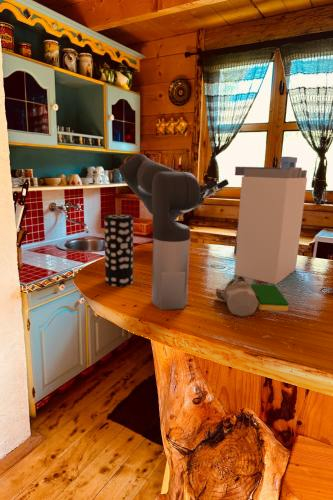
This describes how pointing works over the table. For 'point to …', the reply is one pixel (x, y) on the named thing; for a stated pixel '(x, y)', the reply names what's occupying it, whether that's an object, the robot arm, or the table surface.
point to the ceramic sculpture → (239, 297)
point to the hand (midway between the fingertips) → (222, 181)
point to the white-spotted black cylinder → (118, 249)
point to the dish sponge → (269, 298)
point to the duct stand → (270, 221)
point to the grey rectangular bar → (241, 169)
